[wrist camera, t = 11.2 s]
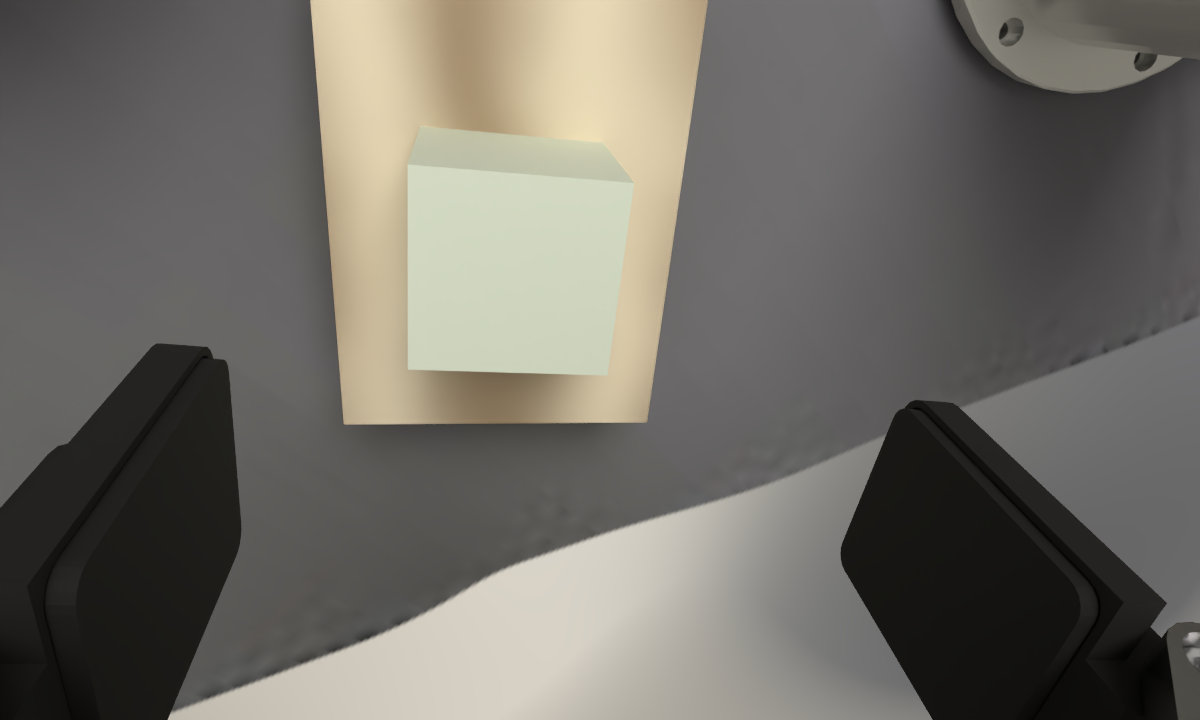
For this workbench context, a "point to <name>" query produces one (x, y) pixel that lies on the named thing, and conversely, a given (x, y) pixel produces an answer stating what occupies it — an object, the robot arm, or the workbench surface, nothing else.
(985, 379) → the workbench surface
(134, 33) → the workbench surface
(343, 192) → the maple block
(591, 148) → the sage cube
